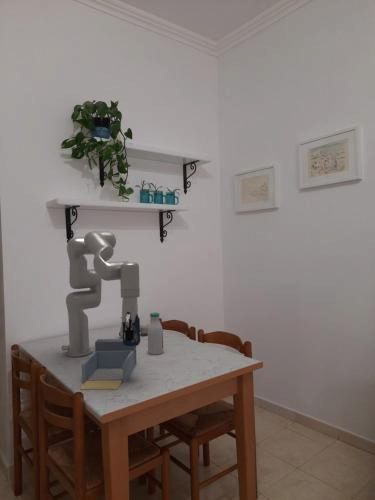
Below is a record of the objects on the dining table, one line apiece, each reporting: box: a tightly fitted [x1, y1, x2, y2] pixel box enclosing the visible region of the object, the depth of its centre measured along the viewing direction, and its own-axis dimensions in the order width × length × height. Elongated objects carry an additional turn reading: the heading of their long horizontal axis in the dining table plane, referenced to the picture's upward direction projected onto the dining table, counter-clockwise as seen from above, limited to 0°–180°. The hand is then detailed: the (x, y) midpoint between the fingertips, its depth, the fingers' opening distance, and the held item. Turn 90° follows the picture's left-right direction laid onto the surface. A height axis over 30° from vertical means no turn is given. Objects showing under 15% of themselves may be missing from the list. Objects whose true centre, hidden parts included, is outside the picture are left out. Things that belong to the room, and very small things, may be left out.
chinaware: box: [118, 316, 149, 339], centre depth 208 cm, size 28×17×17 cm, turn 161°
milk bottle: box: [147, 311, 164, 356], centre depth 179 cm, size 8×8×20 cm
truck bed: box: [81, 338, 138, 383], centre depth 151 cm, size 17×22×12 cm
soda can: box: [121, 314, 141, 347], centre depth 143 cm, size 7×7×12 cm
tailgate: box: [79, 379, 123, 391], centre depth 137 cm, size 14×1×9 cm
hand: (131, 337), depth 143 cm, fingers closed on soda can, 6 cm apart
